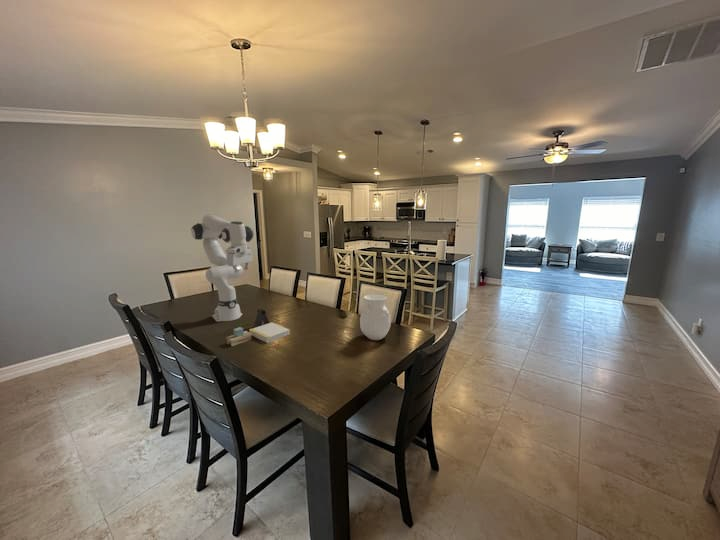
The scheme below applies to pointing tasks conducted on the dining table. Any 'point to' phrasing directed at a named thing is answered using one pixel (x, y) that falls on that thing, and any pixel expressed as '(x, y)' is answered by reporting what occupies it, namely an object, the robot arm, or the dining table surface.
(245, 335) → the pallet
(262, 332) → the dock
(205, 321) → the dining table surface
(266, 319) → the phone stand
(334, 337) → the dining table surface
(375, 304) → the white vase
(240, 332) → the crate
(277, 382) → the dining table surface
